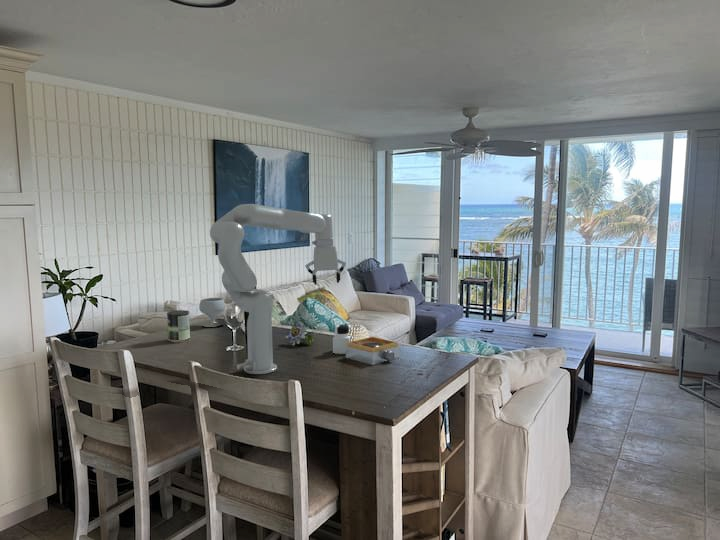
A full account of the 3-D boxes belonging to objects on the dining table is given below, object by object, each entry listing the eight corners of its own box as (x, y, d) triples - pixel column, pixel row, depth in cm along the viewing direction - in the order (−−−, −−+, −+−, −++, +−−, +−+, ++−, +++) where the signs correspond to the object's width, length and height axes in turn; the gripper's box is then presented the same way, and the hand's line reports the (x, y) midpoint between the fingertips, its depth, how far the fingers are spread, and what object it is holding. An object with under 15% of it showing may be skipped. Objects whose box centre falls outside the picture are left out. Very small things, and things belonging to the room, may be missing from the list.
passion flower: (294, 357, 237) (279, 336, 238) (306, 347, 247) (292, 327, 247) (310, 346, 232) (294, 325, 232) (321, 336, 241) (306, 316, 241)
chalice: (208, 329, 273) (207, 302, 271) (195, 326, 282) (194, 299, 280) (231, 325, 283) (230, 299, 281) (217, 322, 292) (216, 296, 291)
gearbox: (378, 366, 202) (377, 350, 201) (345, 357, 215) (345, 342, 215) (404, 358, 213) (404, 343, 212) (372, 350, 226) (372, 336, 226)
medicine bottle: (351, 350, 228) (350, 323, 226) (349, 354, 221) (348, 327, 219) (335, 349, 228) (334, 323, 227) (332, 354, 221) (332, 326, 220)
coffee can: (167, 343, 243) (166, 314, 242) (168, 339, 253) (167, 311, 251) (190, 341, 246) (188, 313, 245) (190, 337, 256) (189, 309, 254)
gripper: (304, 245, 210) (307, 286, 213) (345, 242, 213) (347, 283, 215) (303, 244, 218) (306, 283, 220) (343, 241, 220) (345, 280, 223)
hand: (326, 283), depth 218 cm, fingers open, 9 cm apart
